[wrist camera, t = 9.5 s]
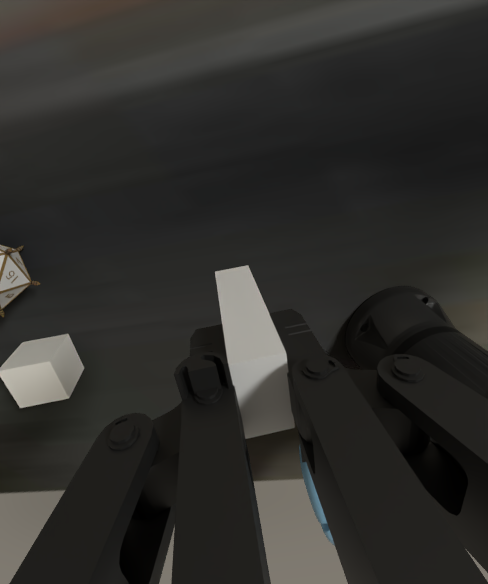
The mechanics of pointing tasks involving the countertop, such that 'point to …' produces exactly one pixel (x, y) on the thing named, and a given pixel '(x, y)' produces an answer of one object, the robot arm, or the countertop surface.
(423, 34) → the countertop surface
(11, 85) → the countertop surface
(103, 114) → the countertop surface
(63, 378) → the off-white block
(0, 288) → the game die
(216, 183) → the countertop surface
